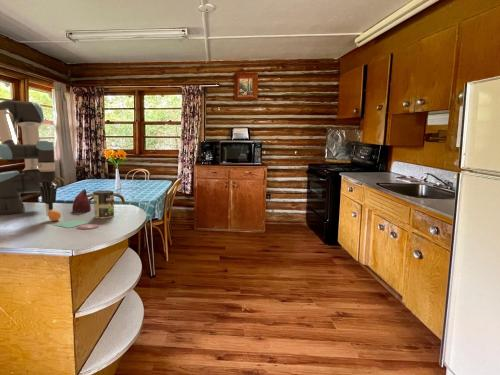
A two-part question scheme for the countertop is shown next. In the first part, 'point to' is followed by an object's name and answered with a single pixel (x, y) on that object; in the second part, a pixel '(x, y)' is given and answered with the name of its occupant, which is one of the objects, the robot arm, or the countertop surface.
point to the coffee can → (103, 204)
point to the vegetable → (81, 203)
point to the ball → (54, 215)
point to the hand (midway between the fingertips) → (49, 215)
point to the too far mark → (87, 226)
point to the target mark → (71, 223)
